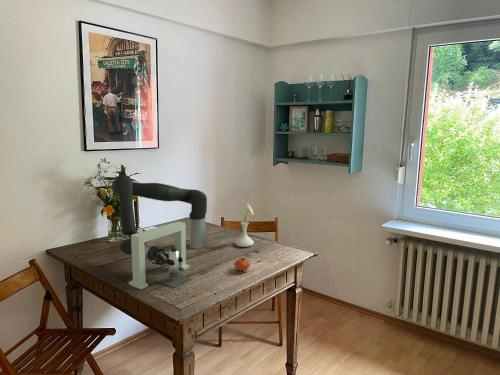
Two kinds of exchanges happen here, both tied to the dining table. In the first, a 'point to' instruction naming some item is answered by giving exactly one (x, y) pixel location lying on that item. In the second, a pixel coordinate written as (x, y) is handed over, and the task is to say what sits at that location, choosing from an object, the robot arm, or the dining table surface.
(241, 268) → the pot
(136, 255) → the frame
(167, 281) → the rubber mat
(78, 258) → the dining table surface
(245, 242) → the flower in vase
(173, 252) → the plug peg
